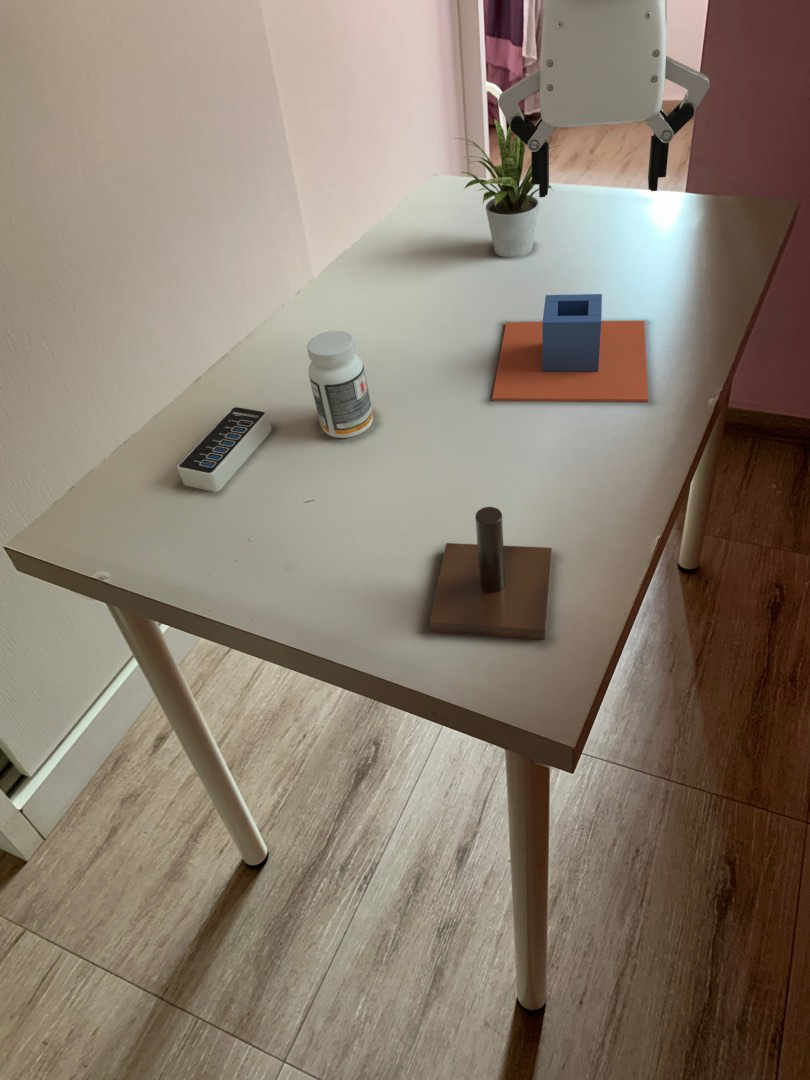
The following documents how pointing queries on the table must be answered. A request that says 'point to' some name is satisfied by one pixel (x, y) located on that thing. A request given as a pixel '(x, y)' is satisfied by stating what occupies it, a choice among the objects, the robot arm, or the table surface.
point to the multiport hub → (224, 449)
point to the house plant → (509, 198)
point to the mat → (612, 383)
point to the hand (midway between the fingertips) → (597, 188)
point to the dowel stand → (492, 585)
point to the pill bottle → (339, 384)
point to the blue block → (571, 333)
